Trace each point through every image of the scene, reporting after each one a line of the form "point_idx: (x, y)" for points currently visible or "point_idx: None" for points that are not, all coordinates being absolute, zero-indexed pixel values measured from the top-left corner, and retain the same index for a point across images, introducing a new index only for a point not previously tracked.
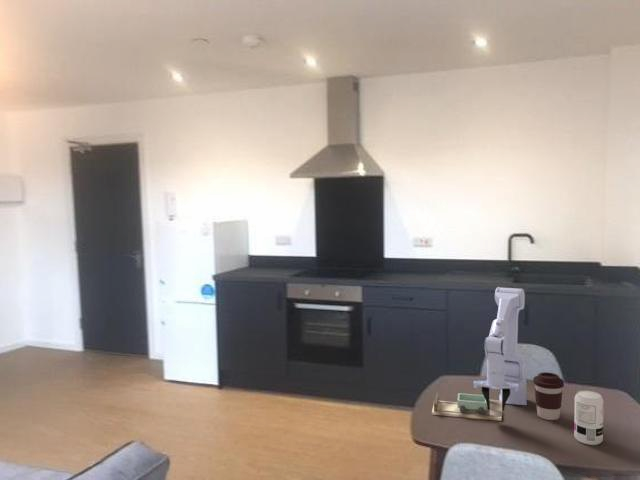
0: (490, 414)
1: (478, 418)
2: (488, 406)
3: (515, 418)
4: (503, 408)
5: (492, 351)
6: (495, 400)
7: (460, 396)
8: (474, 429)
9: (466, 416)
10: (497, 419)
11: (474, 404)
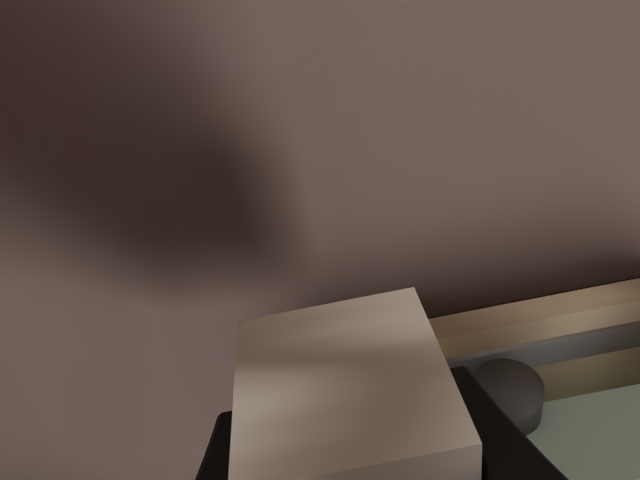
0: (408, 295)
1: (507, 305)
2: (479, 404)
3: (168, 434)
4: (218, 443)
5: None
6: None
7: None
8: (573, 5)
9: (635, 288)
10: None
11: (614, 446)
